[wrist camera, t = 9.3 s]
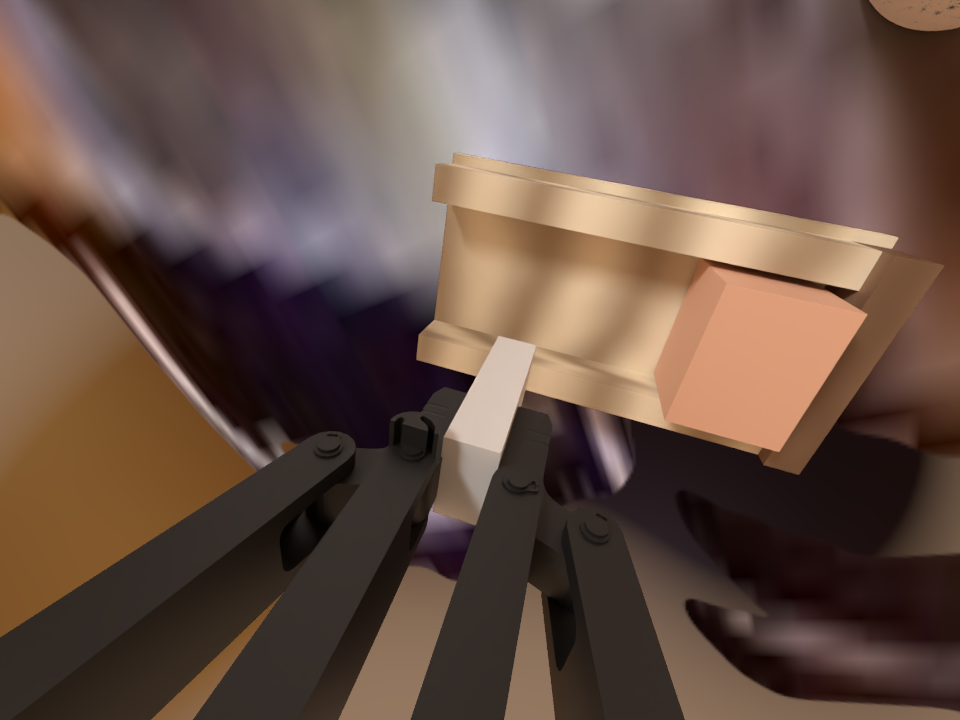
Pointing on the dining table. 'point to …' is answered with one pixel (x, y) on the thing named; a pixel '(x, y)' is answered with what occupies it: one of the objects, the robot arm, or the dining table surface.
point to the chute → (637, 286)
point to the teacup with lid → (921, 13)
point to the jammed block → (750, 352)
